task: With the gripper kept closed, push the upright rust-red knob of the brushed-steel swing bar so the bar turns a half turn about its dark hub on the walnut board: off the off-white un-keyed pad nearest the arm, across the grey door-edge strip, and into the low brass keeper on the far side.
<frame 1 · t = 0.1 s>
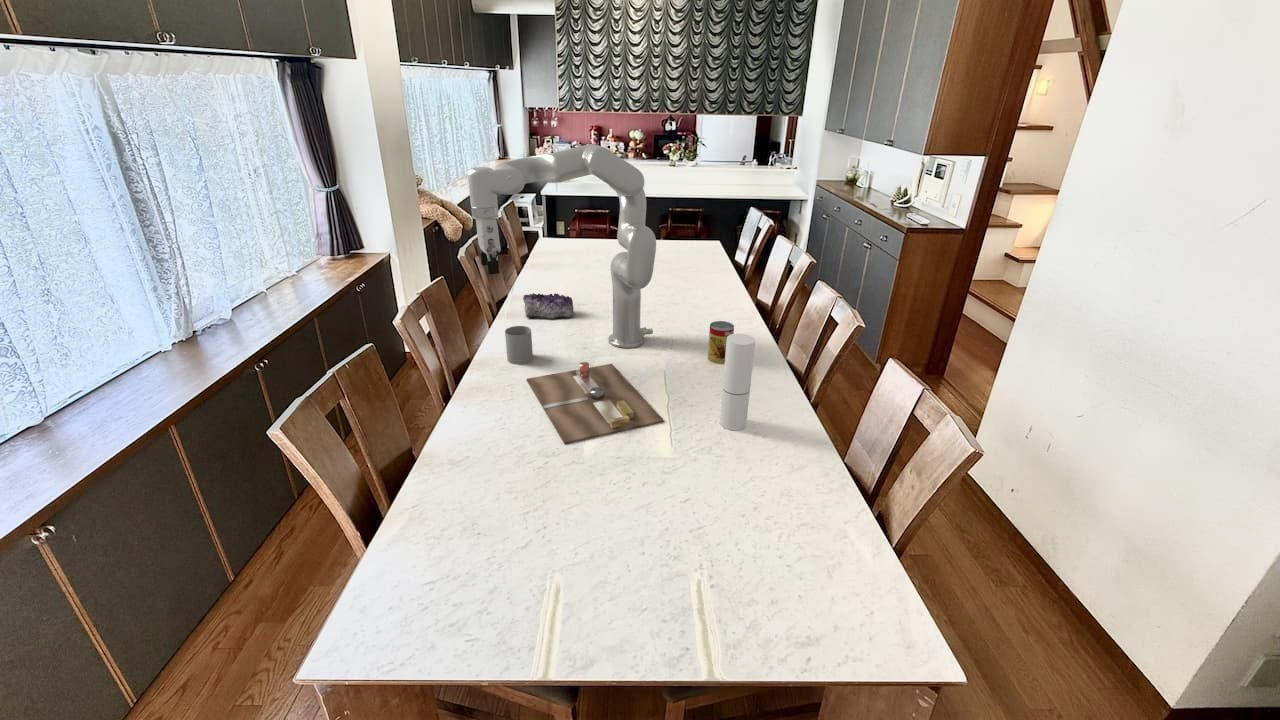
hand: (490, 269, 181), 31 cm above the table, fingers open, 9 cm apart
cylindrical container: (732, 424, 162), on the table
canned food: (719, 359, 200), on the table
geode: (548, 315, 234), on the table
cup: (520, 359, 197), on the table
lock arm: (589, 378, 177), point 4 cm above the table, hinge at 0.0°
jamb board: (597, 398, 174), on the table
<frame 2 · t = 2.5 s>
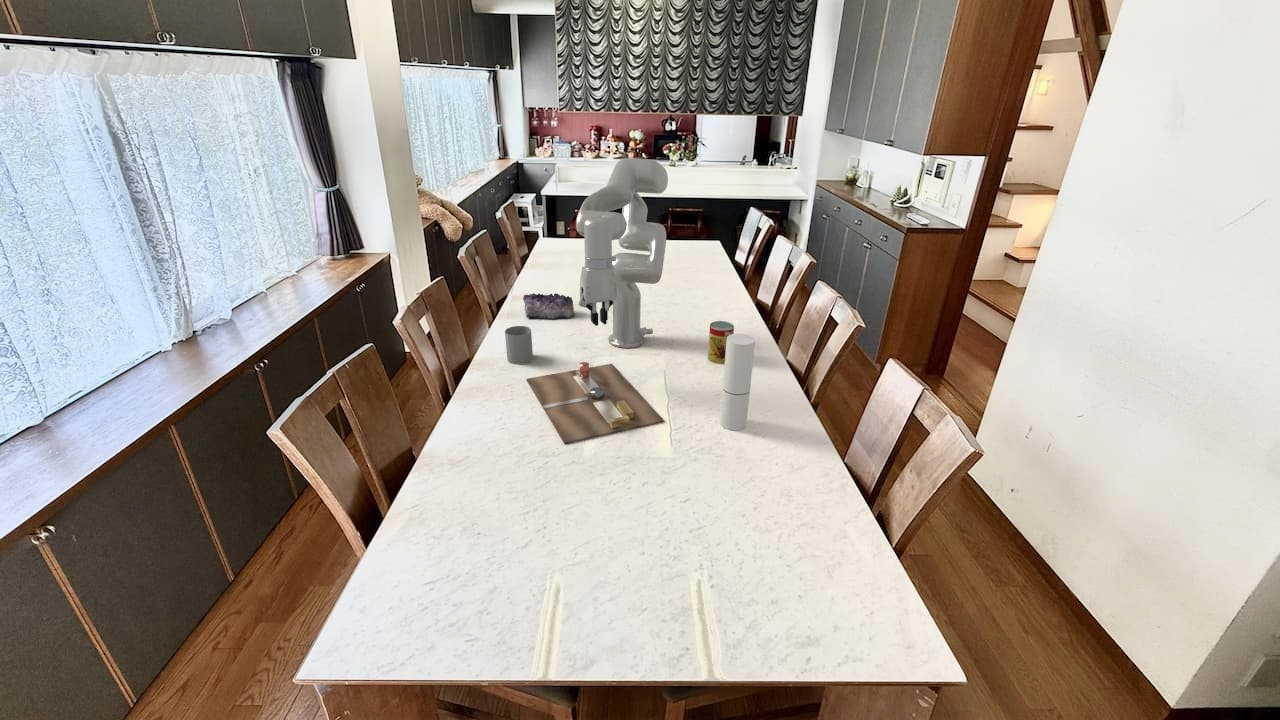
hand: (599, 323, 175), 19 cm above the table, fingers closed
nothing on the table moved.
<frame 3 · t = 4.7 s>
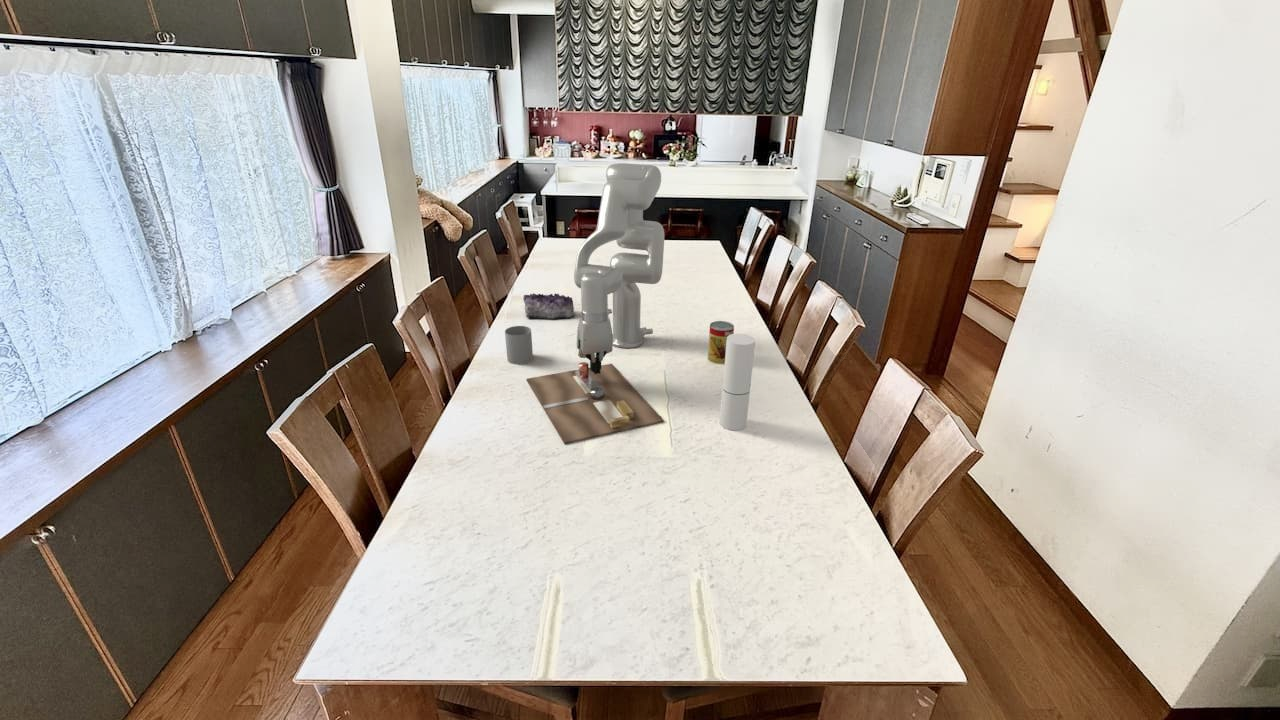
hand: (595, 371, 181), 3 cm above the table, fingers closed
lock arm: (589, 378, 177), point 4 cm above the table, hinge at 1.0°, touching gripper
everything else where it was.
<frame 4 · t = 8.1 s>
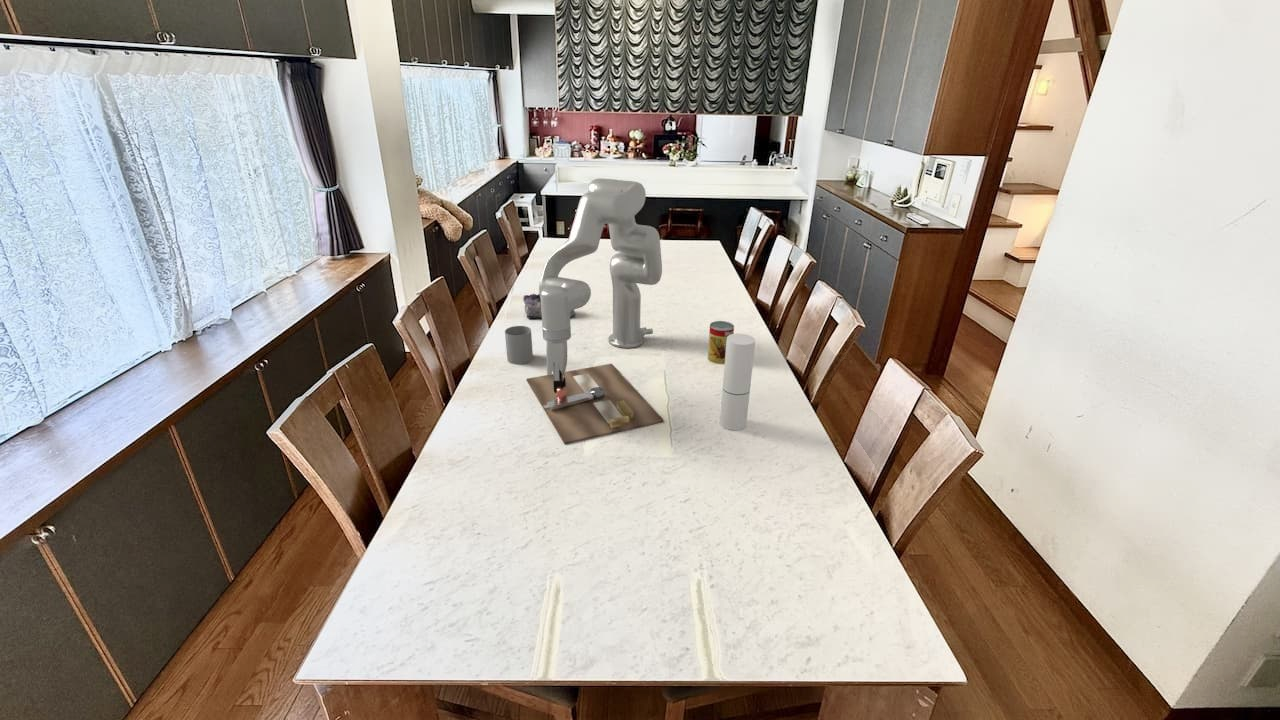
hand: (560, 391, 170), 3 cm above the table, fingers closed
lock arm: (576, 393, 169), point 4 cm above the table, hinge at 96.8°, touching gripper
everything else where it was.
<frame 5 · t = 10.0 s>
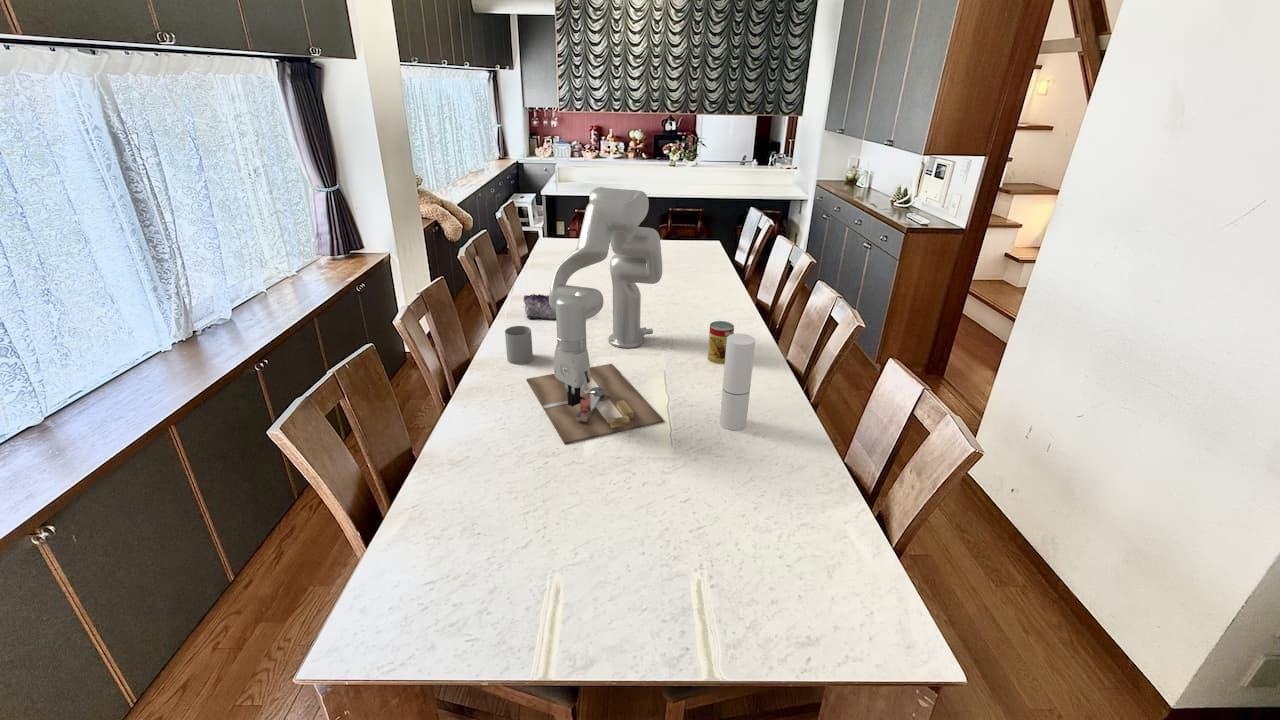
hand: (574, 403, 164), 3 cm above the table, fingers closed
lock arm: (590, 398, 166), point 4 cm above the table, hinge at 142.7°, touching gripper
everything else where it was.
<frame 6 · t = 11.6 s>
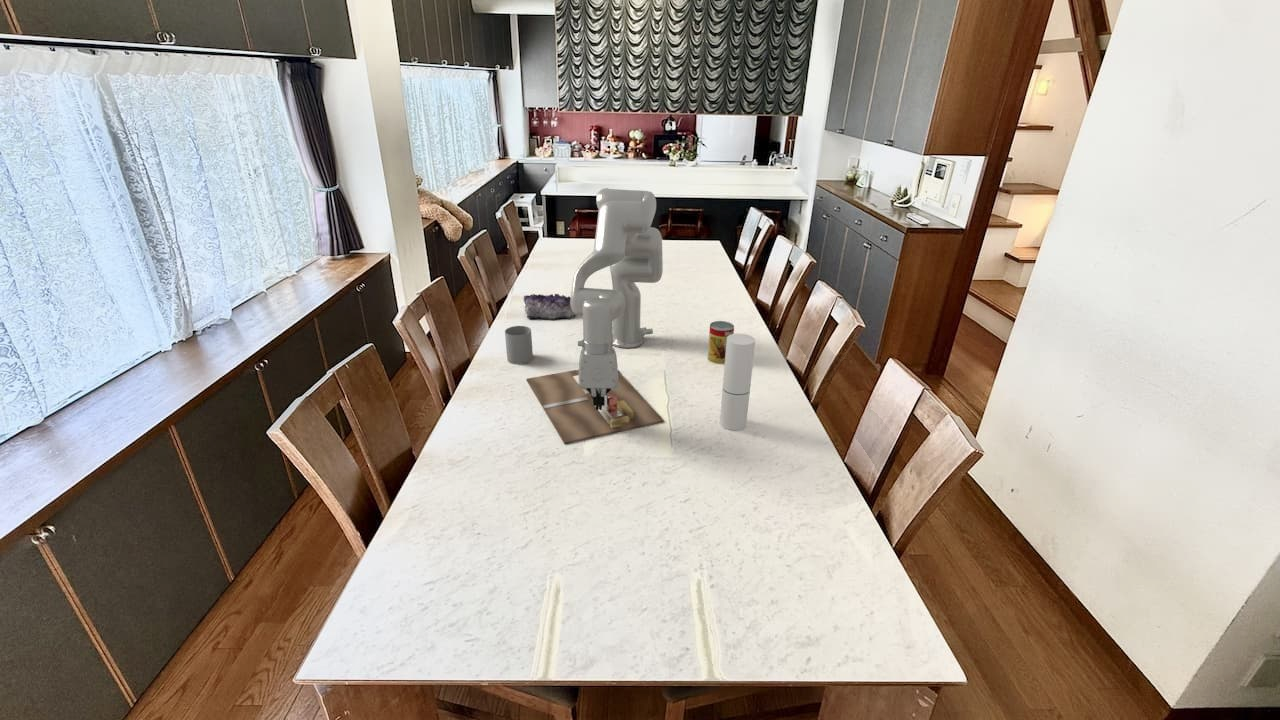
hand: (599, 407, 162), 3 cm above the table, fingers closed
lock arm: (605, 397, 167), point 4 cm above the table, hinge at 180.8°, touching gripper
everything else where it was.
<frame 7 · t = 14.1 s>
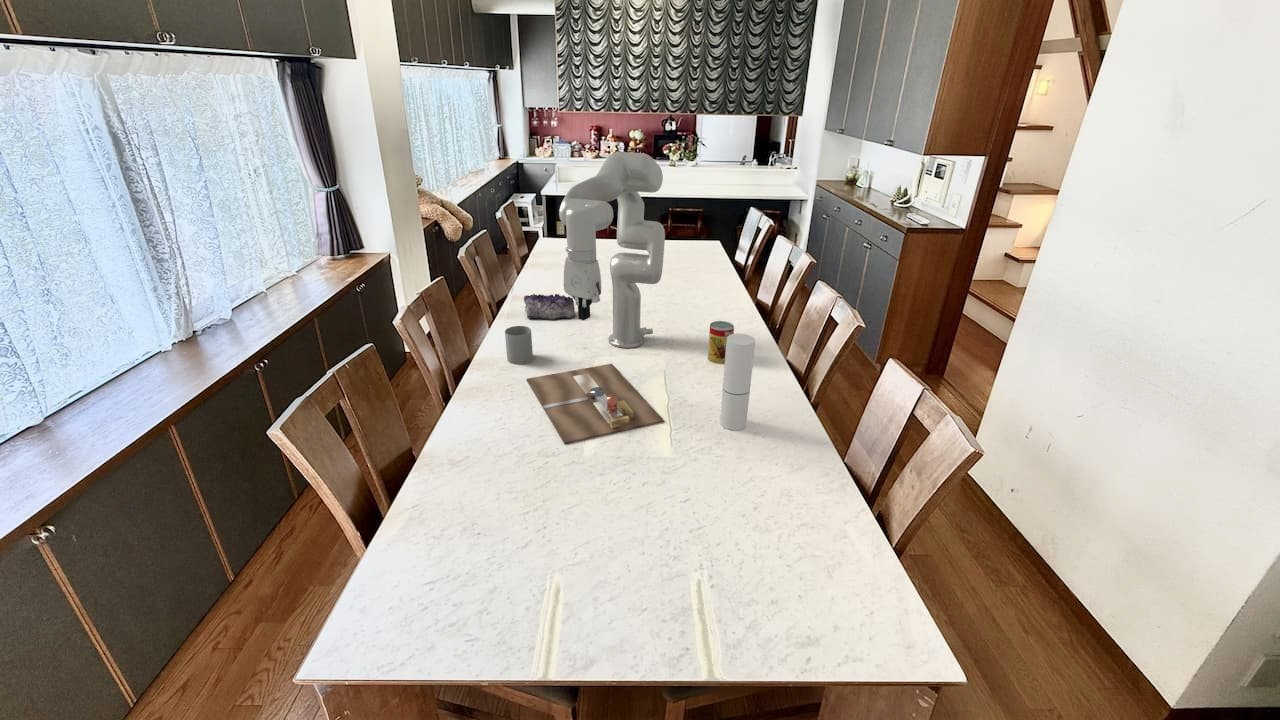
hand: (584, 318, 166), 24 cm above the table, fingers closed
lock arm: (605, 397, 167), point 4 cm above the table, hinge at 180.9°
everything else where it was.
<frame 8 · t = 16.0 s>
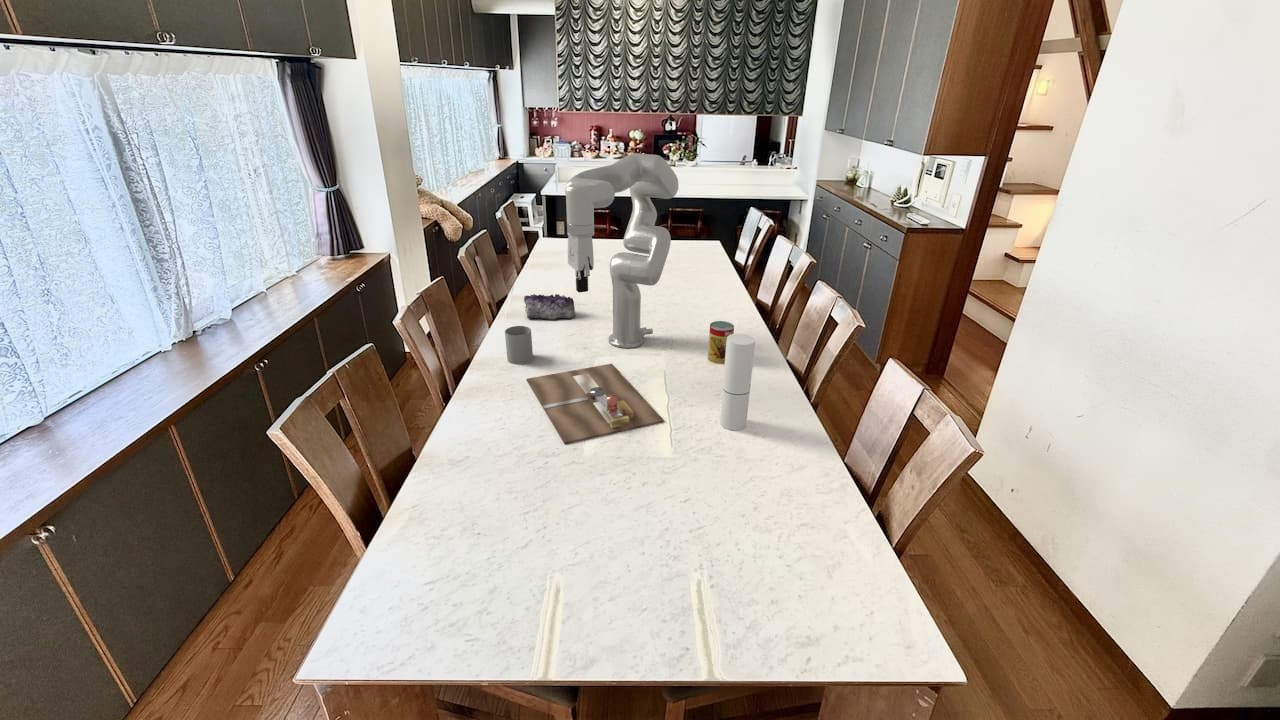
hand: (582, 291, 177), 27 cm above the table, fingers closed
at the end: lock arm at +181° (first picture: +0°) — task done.
